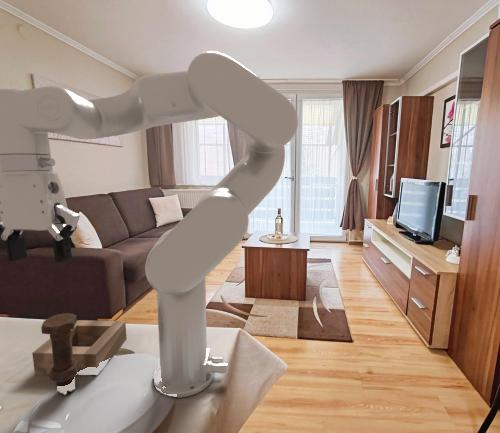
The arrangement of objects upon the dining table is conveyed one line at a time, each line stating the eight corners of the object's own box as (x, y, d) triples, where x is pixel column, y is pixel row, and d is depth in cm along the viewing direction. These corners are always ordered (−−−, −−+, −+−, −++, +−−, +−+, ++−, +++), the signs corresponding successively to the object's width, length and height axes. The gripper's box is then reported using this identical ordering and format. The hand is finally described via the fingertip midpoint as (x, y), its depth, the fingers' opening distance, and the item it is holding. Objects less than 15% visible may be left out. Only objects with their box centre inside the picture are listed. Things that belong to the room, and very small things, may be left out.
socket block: (126, 339, 74) (125, 321, 73) (97, 376, 61) (95, 354, 60) (75, 338, 75) (73, 320, 74) (34, 374, 61) (32, 352, 60)
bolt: (77, 377, 61) (71, 309, 58) (87, 388, 57) (81, 317, 55) (45, 393, 56) (36, 321, 54) (54, 406, 53) (45, 330, 51)
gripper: (85, 164, 53) (96, 254, 56) (5, 167, 56) (19, 253, 59) (52, 164, 46) (66, 267, 49) (-39, 167, 49) (-20, 265, 51)
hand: (40, 259), depth 54 cm, fingers open, 9 cm apart
